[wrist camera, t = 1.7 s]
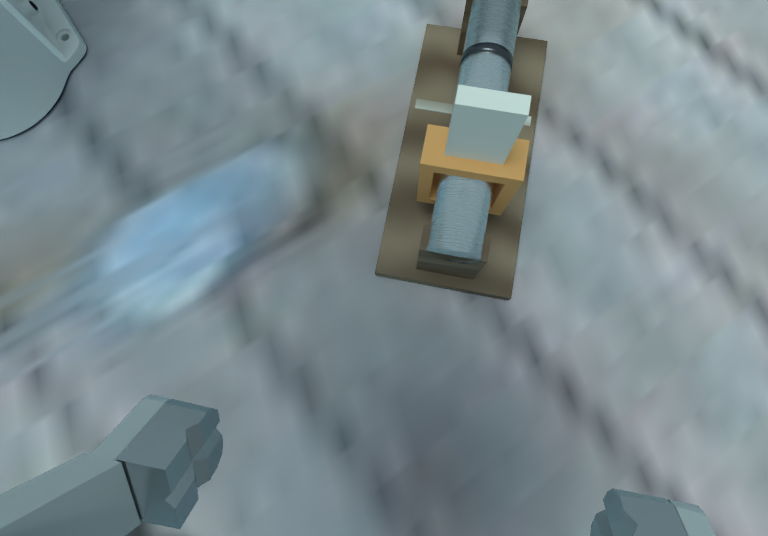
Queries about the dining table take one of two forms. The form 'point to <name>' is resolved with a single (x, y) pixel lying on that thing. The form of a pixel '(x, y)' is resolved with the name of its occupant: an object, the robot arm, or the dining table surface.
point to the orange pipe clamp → (478, 145)
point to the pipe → (477, 69)
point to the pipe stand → (405, 214)
